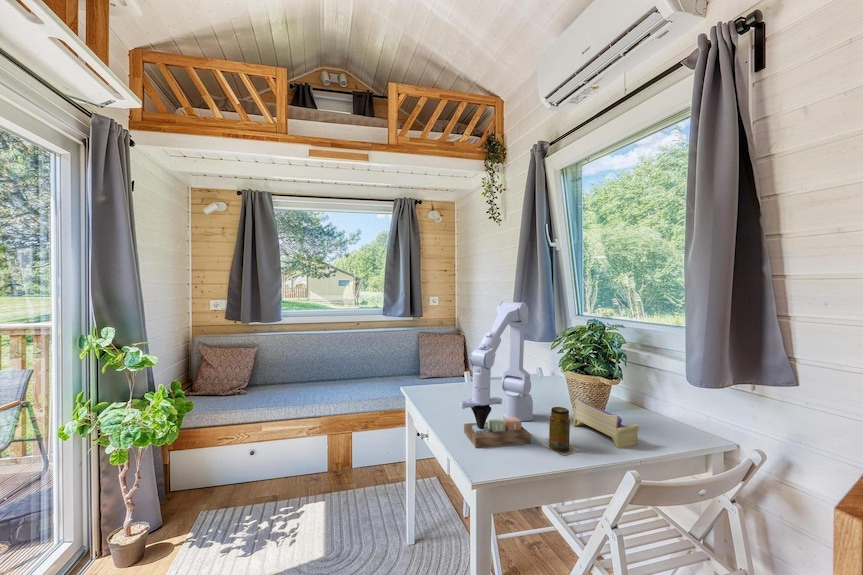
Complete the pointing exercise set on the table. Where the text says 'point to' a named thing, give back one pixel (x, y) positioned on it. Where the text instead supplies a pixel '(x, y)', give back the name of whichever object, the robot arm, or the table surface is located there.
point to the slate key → (480, 429)
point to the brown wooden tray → (496, 437)
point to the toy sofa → (605, 424)
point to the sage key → (496, 425)
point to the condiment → (560, 431)
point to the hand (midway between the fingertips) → (480, 427)
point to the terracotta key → (512, 424)
